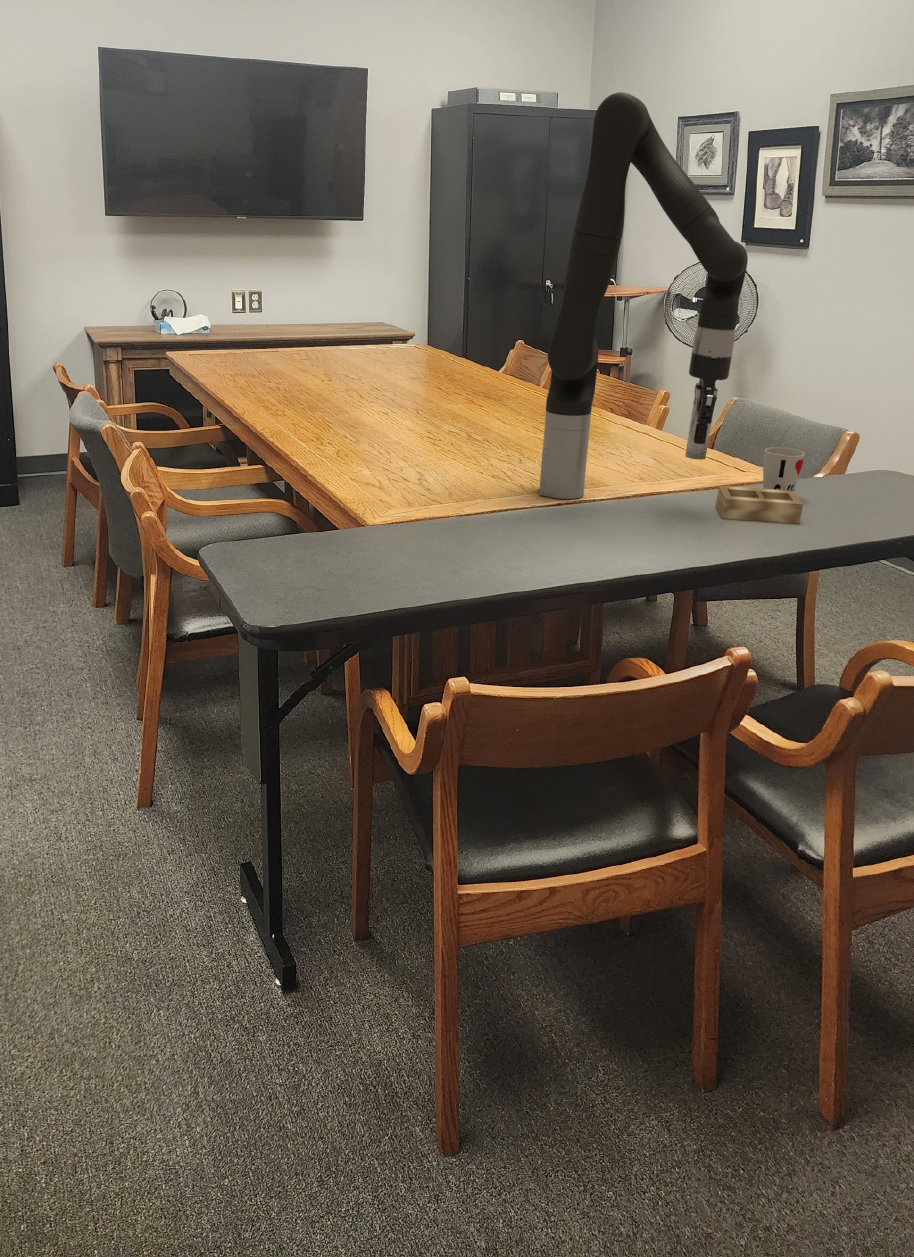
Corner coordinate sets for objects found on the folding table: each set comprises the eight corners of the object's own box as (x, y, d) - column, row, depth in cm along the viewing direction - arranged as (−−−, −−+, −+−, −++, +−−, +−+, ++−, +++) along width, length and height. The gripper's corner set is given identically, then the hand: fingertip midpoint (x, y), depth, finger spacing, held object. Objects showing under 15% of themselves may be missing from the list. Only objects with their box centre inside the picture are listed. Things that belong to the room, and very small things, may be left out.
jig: (722, 518, 210) (725, 498, 208) (716, 504, 219) (718, 485, 217) (799, 523, 208) (803, 504, 207) (789, 509, 218) (793, 490, 216)
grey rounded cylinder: (686, 458, 208) (694, 407, 204) (684, 453, 212) (692, 403, 208) (706, 460, 208) (715, 409, 204) (704, 455, 211) (712, 405, 207)
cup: (770, 503, 221) (778, 456, 218) (750, 493, 229) (757, 447, 225) (804, 502, 223) (812, 455, 220) (783, 492, 231) (791, 446, 227)
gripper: (688, 345, 208) (675, 431, 215) (696, 355, 195) (682, 447, 202) (727, 348, 208) (712, 434, 215) (737, 359, 195) (721, 451, 201)
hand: (697, 440), depth 208 cm, fingers closed on grey rounded cylinder, 4 cm apart
